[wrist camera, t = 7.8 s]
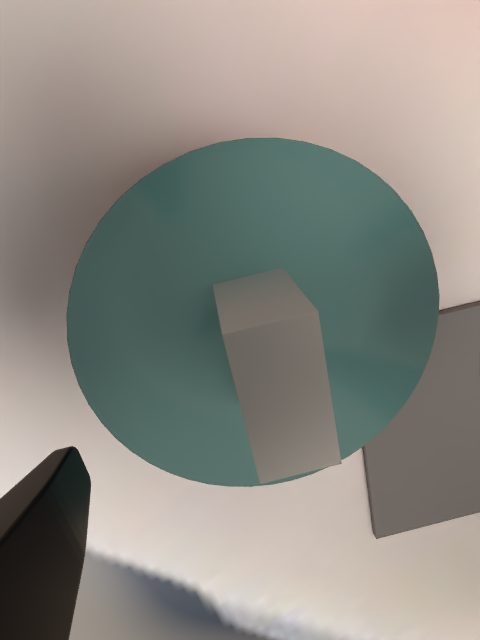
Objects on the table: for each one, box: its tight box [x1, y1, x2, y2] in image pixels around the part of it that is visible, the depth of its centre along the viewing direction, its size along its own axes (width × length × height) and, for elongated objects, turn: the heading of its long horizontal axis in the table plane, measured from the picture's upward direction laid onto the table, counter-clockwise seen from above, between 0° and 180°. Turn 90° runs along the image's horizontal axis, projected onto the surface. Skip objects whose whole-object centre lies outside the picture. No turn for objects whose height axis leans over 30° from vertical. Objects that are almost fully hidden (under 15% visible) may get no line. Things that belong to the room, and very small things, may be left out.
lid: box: [67, 138, 439, 487], centre depth 11 cm, size 11×11×4 cm
